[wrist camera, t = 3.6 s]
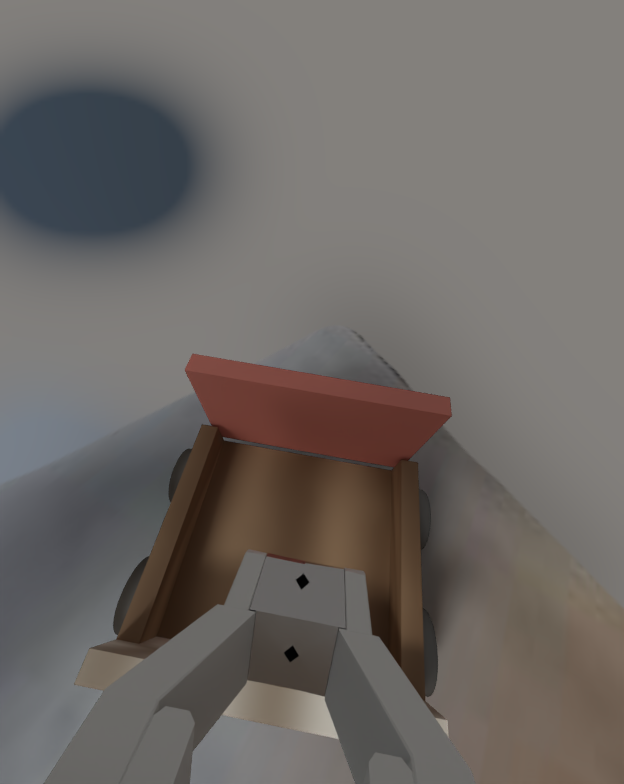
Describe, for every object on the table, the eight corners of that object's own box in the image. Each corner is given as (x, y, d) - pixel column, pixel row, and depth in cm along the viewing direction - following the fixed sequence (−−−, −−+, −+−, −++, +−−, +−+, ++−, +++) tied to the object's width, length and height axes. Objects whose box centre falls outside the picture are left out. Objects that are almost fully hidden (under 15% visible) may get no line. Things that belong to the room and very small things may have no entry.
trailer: (130, 642, 20) (37, 677, 13) (202, 452, 28) (169, 403, 20) (412, 698, 20) (489, 769, 12) (409, 489, 27) (456, 454, 20)
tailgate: (216, 435, 25) (184, 370, 17) (223, 416, 25) (196, 346, 18) (400, 468, 24) (451, 415, 16) (400, 447, 25) (449, 388, 17)
